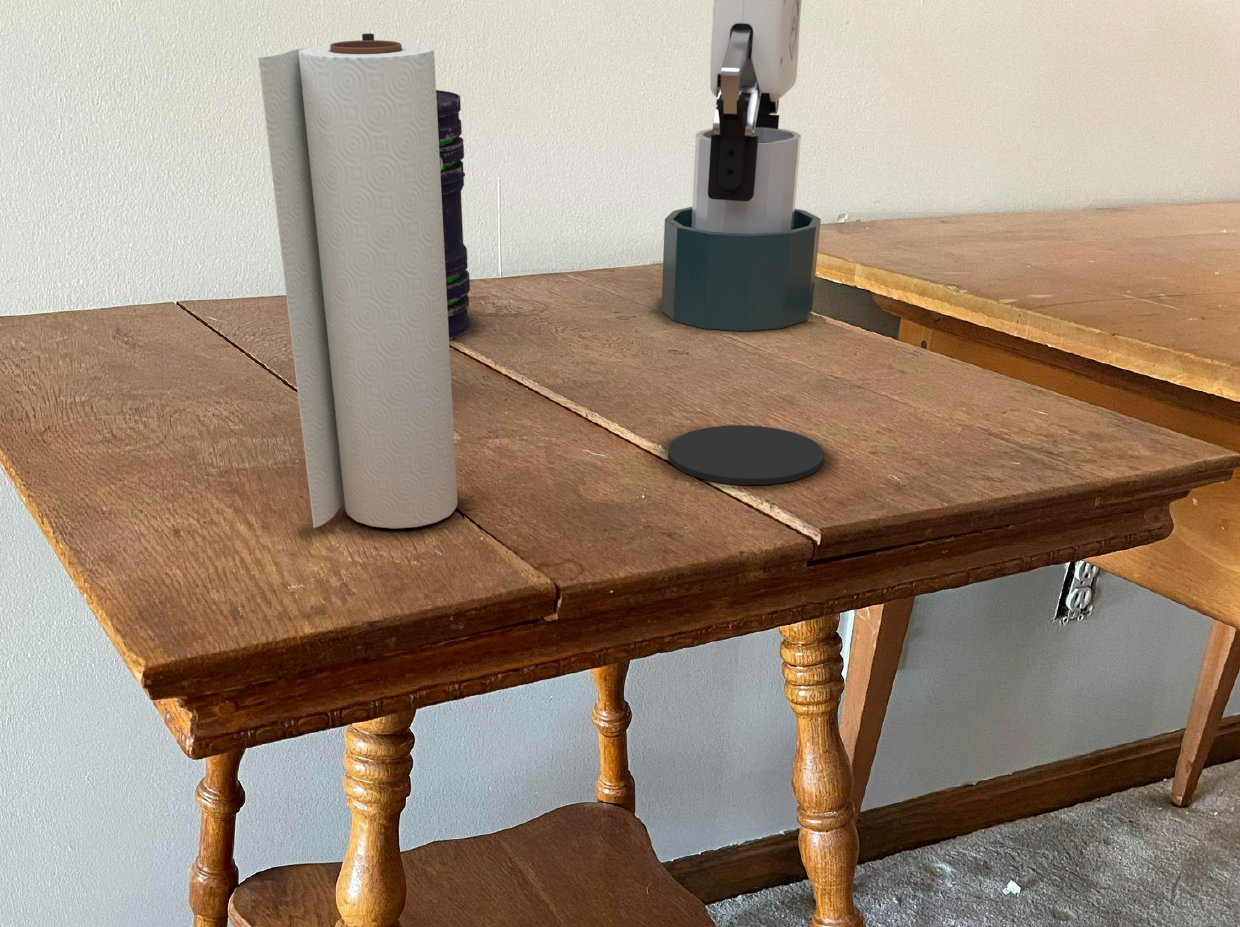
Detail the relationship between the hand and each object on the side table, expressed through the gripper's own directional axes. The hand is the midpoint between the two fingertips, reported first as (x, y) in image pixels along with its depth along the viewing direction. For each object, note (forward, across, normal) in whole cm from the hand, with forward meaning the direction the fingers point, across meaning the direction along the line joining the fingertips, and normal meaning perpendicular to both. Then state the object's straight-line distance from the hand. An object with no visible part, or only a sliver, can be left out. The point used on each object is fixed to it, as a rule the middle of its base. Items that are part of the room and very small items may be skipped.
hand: (741, 186), depth 101 cm
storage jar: (+9, -11, +23) cm, 27 cm away
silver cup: (+9, 0, 0) cm, 9 cm away
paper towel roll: (+9, -45, +11) cm, 47 cm away
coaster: (+8, -32, -6) cm, 34 cm away
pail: (+9, 0, 0) cm, 9 cm away
